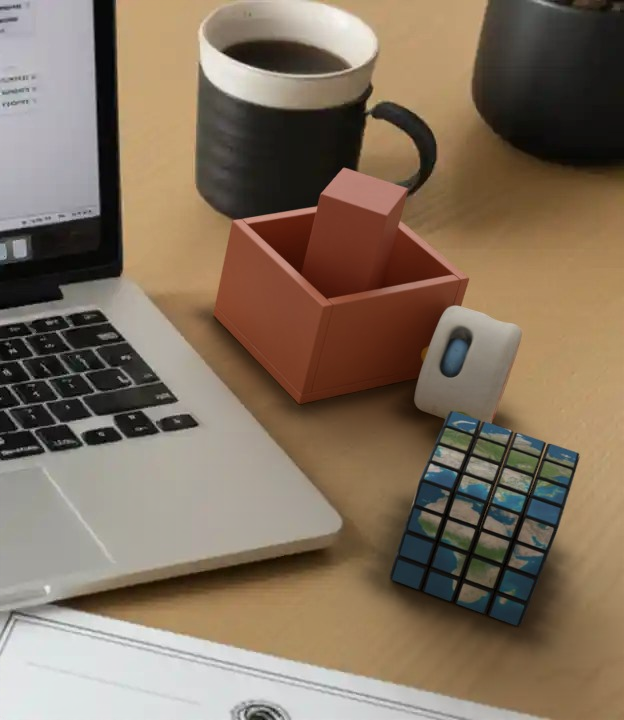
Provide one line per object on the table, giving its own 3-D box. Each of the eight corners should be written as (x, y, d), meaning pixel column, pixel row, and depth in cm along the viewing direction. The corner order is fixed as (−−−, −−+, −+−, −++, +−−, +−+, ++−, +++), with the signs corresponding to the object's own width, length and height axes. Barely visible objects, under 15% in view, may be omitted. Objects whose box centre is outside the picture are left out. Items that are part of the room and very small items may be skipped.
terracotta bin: (348, 288, 96) (372, 196, 92) (440, 373, 89) (470, 278, 86) (212, 314, 92) (231, 219, 89) (299, 404, 86) (323, 306, 82)
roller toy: (393, 427, 85) (420, 334, 82) (423, 367, 90) (450, 277, 86) (478, 457, 84) (509, 363, 80) (504, 394, 88) (535, 303, 85)
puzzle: (519, 629, 73) (558, 527, 70) (388, 580, 75) (419, 478, 72) (543, 551, 78) (581, 451, 75) (419, 507, 80) (450, 408, 76)
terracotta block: (308, 309, 92) (343, 166, 87) (370, 331, 91) (409, 188, 86) (285, 338, 90) (320, 193, 85) (348, 361, 88) (387, 216, 83)
